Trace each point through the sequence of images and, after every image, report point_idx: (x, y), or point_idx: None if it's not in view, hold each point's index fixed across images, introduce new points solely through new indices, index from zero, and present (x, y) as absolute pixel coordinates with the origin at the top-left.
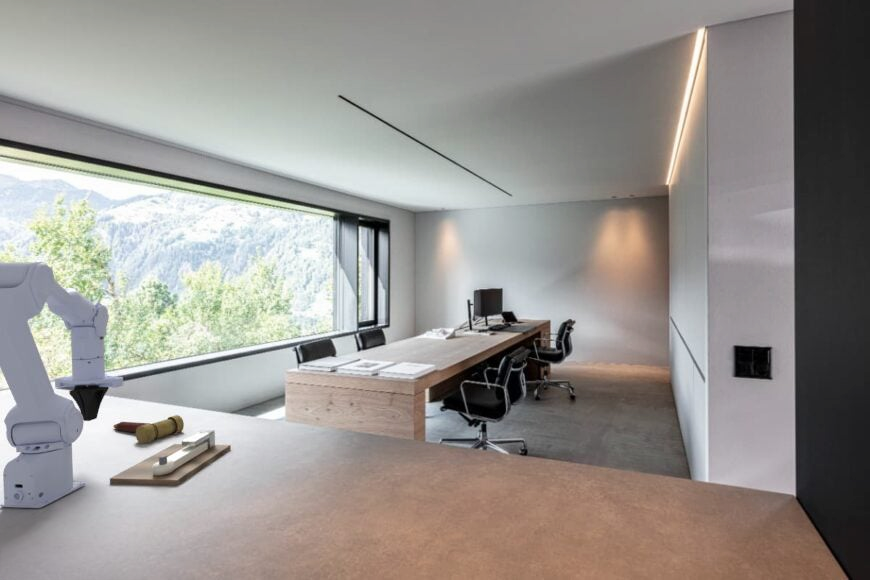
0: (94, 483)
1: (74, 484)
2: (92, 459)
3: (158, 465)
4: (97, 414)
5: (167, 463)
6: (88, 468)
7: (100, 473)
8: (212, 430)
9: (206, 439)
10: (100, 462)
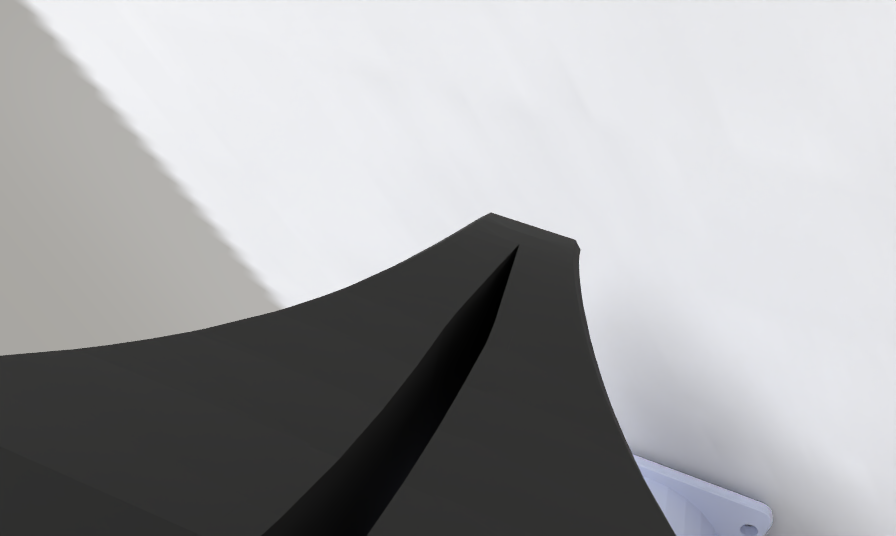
0: (816, 491)
1: (715, 520)
2: (575, 17)
3: None
4: (578, 270)
5: None
6: (648, 228)
7: (790, 351)
8: None
9: None
10: (687, 115)
